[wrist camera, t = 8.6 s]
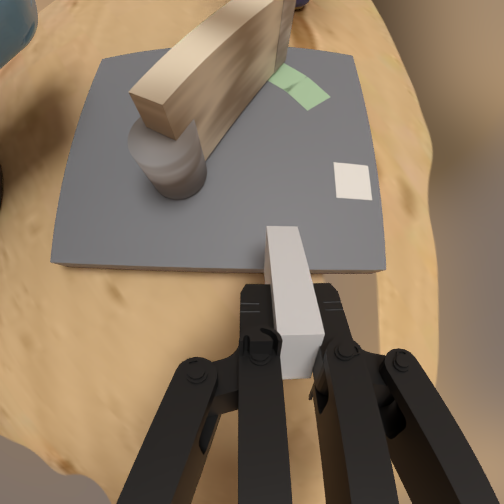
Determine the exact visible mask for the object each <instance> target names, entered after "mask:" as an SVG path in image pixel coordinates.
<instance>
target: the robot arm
mask: <svg viewBox="0 0 504 504" xmlns="http://www.w3.org/2000/svg"><path fill="white" fill-rule="evenodd" d="M37 25H38V13H37V7H36V2H35V0H0V69H1V68H2V67H3V66H4V65H5V64H7V63H8V62H9V61H10V60H11V59H12V58H13V57H14V56H16V55H17V54H18V53H19V52H20V51H21V50H23V49H24V48H25V47H26V46H27V45H28V44H29V42H30V41H31V40H32V38H33V36H34V34H35V32H36V29H37ZM1 197H2V170H1V166H0V205H1ZM264 278H265V284H246V285H245V286H244V288H243V290H242V291H241V296H240V338H239V346H238V348H237V350H236V351H235V352H234V353H233V354H232V355H231V356H229V357H227V358H225V359H222V360H218V361H214V362H211V361H210V360H207V359H205V358H201V357H193V358H189V359H186V360H185V361H183V362H182V363H181V364H180V365H179V366H178V368H177V369H176V371H175V374H174V376H173V378H172V380H171V382H170V384H169V387H168V389H167V391H166V393H165V395H164V397H163V400H162V402H161V404H160V406H159V408H158V411H157V413H156V415H155V417H154V419H153V422H152V424H151V426H150V428H149V431H148V433H147V435H146V437H145V440H144V442H143V444H142V446H141V449H140V451H139V453H138V455H137V458H136V460H135V462H134V464H133V467H132V469H131V471H130V473H129V476H128V478H127V480H126V483H125V485H124V487H123V490H122V492H121V494H120V497H119V499H118V501H117V504H191V501H192V499H193V496H194V493H195V490H196V487H197V484H198V482H199V479H200V476H201V473H202V470H203V467H204V464H205V461H206V458H207V455H208V452H209V449H210V447H211V444H212V441H213V438H214V435H215V432H216V429H217V426H218V423H219V420H220V417H221V414H223V413H227V412H230V411H234V410H237V409H238V504H292V492H291V478H290V464H289V452H288V439H287V427H286V415H285V403H284V392H283V381H282V379H302V378H311V375H312V372H313V376H314V384H313V386H312V389H311V391H310V394H309V400H312V397H313V400H314V407H315V414H316V422H317V429H318V437H319V445H320V453H321V461H322V470H323V479H324V488H325V498H326V504H399V501H398V496H397V490H396V484H395V479H394V474H393V469H392V464H391V461H392V463H393V465H394V467H395V469H396V471H397V473H398V475H399V477H400V479H401V481H402V483H403V485H404V487H405V489H406V491H407V493H408V496H409V498H410V500H411V502H412V504H499V501H498V499H497V497H496V495H495V493H494V491H493V489H492V487H491V485H490V483H489V481H488V479H487V477H486V475H485V473H484V471H483V469H482V467H481V465H480V463H479V461H478V460H477V458H476V456H475V454H474V452H473V450H472V449H471V447H470V445H469V443H468V442H467V440H466V438H465V436H464V434H463V433H462V431H461V429H460V428H459V426H458V424H457V423H456V421H455V419H454V417H453V416H452V415H451V413H450V411H449V409H448V408H447V406H446V405H445V403H444V401H443V400H442V398H441V396H440V395H439V393H438V392H437V390H436V388H435V387H434V385H433V384H432V382H431V381H430V379H429V378H428V376H427V375H426V373H425V371H424V370H423V368H422V367H421V365H420V364H419V362H418V361H417V359H416V358H415V357H414V356H413V355H412V354H411V353H410V352H408V351H407V350H405V349H399V348H398V349H392V350H391V351H389V352H388V353H387V355H386V356H385V355H379V354H374V353H370V352H366V351H364V350H362V349H361V347H360V345H358V344H357V343H356V342H355V341H353V338H352V336H351V333H350V329H349V326H348V323H347V319H346V316H345V313H344V310H343V307H342V304H341V301H340V297H339V294H338V291H336V289H335V288H334V287H333V286H332V285H331V284H330V283H312V279H311V275H310V271H309V267H308V263H307V260H306V256H305V252H304V248H303V245H302V241H301V237H300V234H299V230H298V227H296V226H267V227H266V245H265V262H264Z"/></svg>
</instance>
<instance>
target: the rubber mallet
mask: <svg viewBox="0 0 504 504" xmlns="http://www.w3.org/2000/svg"><path fill="white" fill-rule="evenodd" d="M308 2H309V0H296V4H295V9H301V8H303V7H304V5H306V4H307V3H308Z"/></svg>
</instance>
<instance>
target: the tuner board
mask: <svg viewBox="0 0 504 504" xmlns="http://www.w3.org/2000/svg"><path fill="white" fill-rule="evenodd" d="M170 49H171V48H167V49H158V50H151V51H144V52H137V53H131V54H125V55H120V56H115V57H110V58H105V59H102V61H101V63H100V65H99V68H98V70H97V73H96V75H95V77H94V80H93V82H92V85H91V88H90V90H89V93H88V96H87V98H86V101H85V104H84V107H83V110H82V113H81V116H80V119H79V122H78V125H77V128H76V131H75V135H74V138H73V142H72V145H71V149H70V153H69V157H68V160H67V164H66V169H65V173H64V177H63V182H62V187H61V192H60V197H59V202H58V208H57V214H56V220H55V227H54V234H53V242H52V251H51V261H50V262H51V263H55V264H59V265H63V266H67V267H85V268H107V269H131V270H159V271H192V272H234V273H264V262H265V245H266V227H267V226H296V227H298V230H299V234H300V237H301V241H302V245H303V248H304V252H305V256H306V260H307V263H308V267H309V271H310V274H372V273H376V272H380V271H383V270H386V257H385V240H384V227H383V216H382V206H381V197H380V188H379V181H378V173H377V166H376V160H375V154H374V148H373V142H372V136H371V131H370V126H369V121H368V116H367V111H366V107H365V102H364V98H363V94H362V90H361V85H360V81H359V78H358V74H357V70H356V66H355V63H354V59H353V56H351V55H345V54H340V53H333V52H327V51H320V50H312V49H303V48H293V47H288V50H287V56H286V60H285V62H284V63H283V64H282V65H281V66H280V67H279V68H278V70H277V71H276V72H275V73H273V74H272V75H271V77H270V78H269V79H268V80H267V81H266V83H265V84H264V85H263V86H262V87H261V89H260V90H259V91H258V92H257V94H256V95H255V96H254V97H253V99H252V100H251V101H250V102H249V104H248V105H247V106H246V107H245V109H244V110H243V111H242V112H241V114H240V115H239V116H238V118H237V119H236V120H235V121H234V123H233V124H232V125H231V127H230V128H229V129H228V131H227V132H226V133H225V135H224V136H223V137H222V139H221V140H220V141H219V143H218V144H217V146H216V147H215V148H214V150H213V151H212V152H211V154H210V155H209V157H208V158H207V159H206V161H205V163H206V167H207V176H206V180H205V182H204V184H203V186H202V187H201V188H200V189H199V190H198V191H197V192H196V193H195V194H193V195H192V196H190V197H187V198H184V199H170V198H167V197H164V196H163V195H161V194H160V193H159V192H158V191H157V189H156V188H155V187H154V185H153V184H152V183H151V181H150V180H149V178H148V177H147V176H146V174H145V173H144V172H143V170H142V169H141V167H140V166H139V165H138V163H137V162H136V161H135V159H134V158H133V156H132V155H131V153H130V151H129V149H128V135H129V132H130V129H131V128H132V126H133V124H134V123H135V122H136V121H137V119H138V118H139V117H141V116H140V114H139V112H138V110H137V108H136V106H135V104H134V102H133V100H132V98H131V96H130V94H129V91H130V90H131V88H132V87H133V86H134V85H135V84H136V83H137V82H138V81H139V80H140V79H141V78H142V77H143V76H144V75H145V74H146V73H147V72H148V71H149V70H150V69H151V68H152V67H153V66H154V65H155V64H156V63H157V62H158V61H159V60H160V59H161V58H162V57H163V56H164V55H165V54H166V53H167V52H168V51H169V50H170Z"/></svg>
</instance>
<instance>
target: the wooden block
mask: <svg viewBox="0 0 504 504" xmlns="http://www.w3.org/2000/svg"><path fill="white" fill-rule="evenodd" d="M295 4H296V0H231V1H230V2H228V3H227V4H225V5H224V6H223V7H221V8H220V9H219V10H217V11H216V12H215V13H213V14H212V15H211V16H209V17H208V18H207V19H206V20H204V21H203V22H202V23H200V24H199V25H198V26H197V27H196V28H194V29H193V30H192V31H191V32H190V33H188V34H187V35H186V36H185V37H184V38H183V39H181V40H180V41H179V42H178V43H177V44H176V45H175V46H174V47H173V48H171V49H170V50H169V51H168V52H167V53H166V54H165V55H164V56H163V57H162V58H161V59H160V60H159V61H158V62H157V63H156V64H155V65H154V66H153V67H152V68H151V69H150V70H149V71H148V72H147V73H146V74H145V75H144V76H143V77H142V78H141V79H140V80H139V81H138V82H137V83H136V84H135V85H134V86H133V87H132V88H131V90H130V91H129V94H130V96H131V98H132V100H133V102H134V104H135V106H136V108H137V110H138V112H139V114H140V116H141V117H139V118H138V119H137V121H136V122H135V123H134V124H133V126H132V128H131V129H130V132H129V135H128V149H129V151H130V153H131V155H132V156H133V158H134V159H135V161H136V162H137V163H138V165H139V166H140V167H141V169H142V170H143V172H144V173H145V174H146V176H147V177H148V178H149V180H150V181H151V183H152V184H153V185H154V187H155V188H156V189H157V191H158V192H159V193H160V194H161V195H163V196H164V197H167V198H170V199H184V198H187V197H190V196H192V195H193V194H195V193H196V192H197V191H198V190H199V189H200V188H201V187H202V186H203V184H204V182H205V180H206V176H207V167H206V163H205V161H206V159H207V158H208V157H209V155H210V154H211V152H212V151H213V150H214V148H215V147H216V146H217V144H218V143H219V141H220V140H221V139H222V137H223V136H224V135H225V133H226V132H227V131H228V129H229V128H230V127H231V125H232V124H233V123H234V121H235V120H236V119H237V118H238V116H239V115H240V114H241V112H242V111H243V110H244V109H245V107H246V106H247V105H248V104H249V102H250V101H251V100H252V99H253V97H254V96H255V95H256V94H257V92H258V91H259V90H260V89H261V87H262V86H263V85H264V84H265V83H266V81H267V80H268V79H269V78H270V77H271V75H272V74H273V73H275V72H276V71H277V70H278V68H279V67H280V66H281V65H282V64H283V63H284V62H285V60H286V56H287V50H288V44H289V38H290V33H291V27H292V21H293V15H294V9H295Z"/></svg>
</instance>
